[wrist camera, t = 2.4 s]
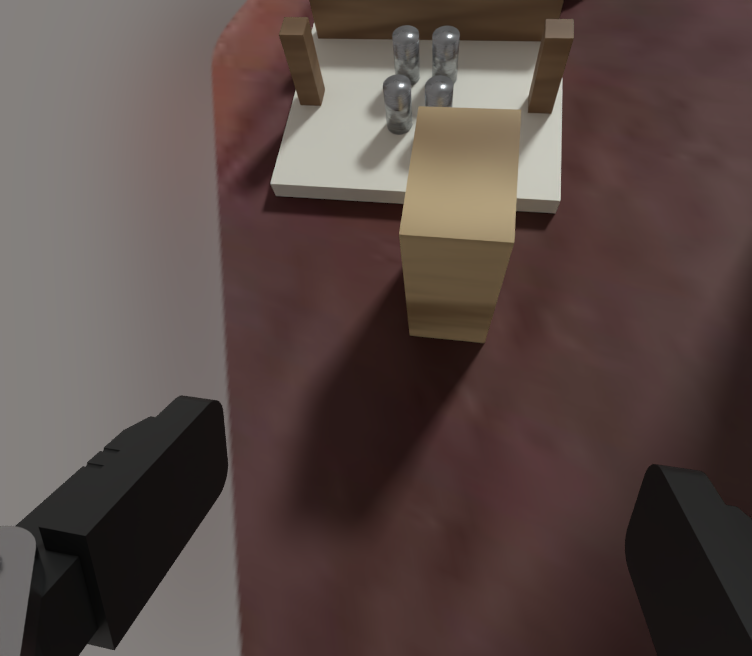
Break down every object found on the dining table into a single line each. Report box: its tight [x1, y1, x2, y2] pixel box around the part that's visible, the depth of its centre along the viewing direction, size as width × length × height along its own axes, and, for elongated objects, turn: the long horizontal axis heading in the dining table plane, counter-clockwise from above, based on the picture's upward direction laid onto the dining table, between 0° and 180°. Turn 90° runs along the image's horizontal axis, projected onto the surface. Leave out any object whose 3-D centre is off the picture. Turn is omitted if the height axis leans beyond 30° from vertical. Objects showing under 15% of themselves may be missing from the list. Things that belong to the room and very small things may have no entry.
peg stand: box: [270, 23, 562, 213], centre depth 32 cm, size 14×17×1 cm
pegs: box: [383, 25, 460, 135], centre depth 30 cm, size 6×4×3 cm
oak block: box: [399, 106, 521, 343], centre depth 23 cm, size 6×4×10 cm, turn 172°
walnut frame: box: [279, 0, 574, 114], centre depth 30 cm, size 7×16×5 cm, turn 82°
